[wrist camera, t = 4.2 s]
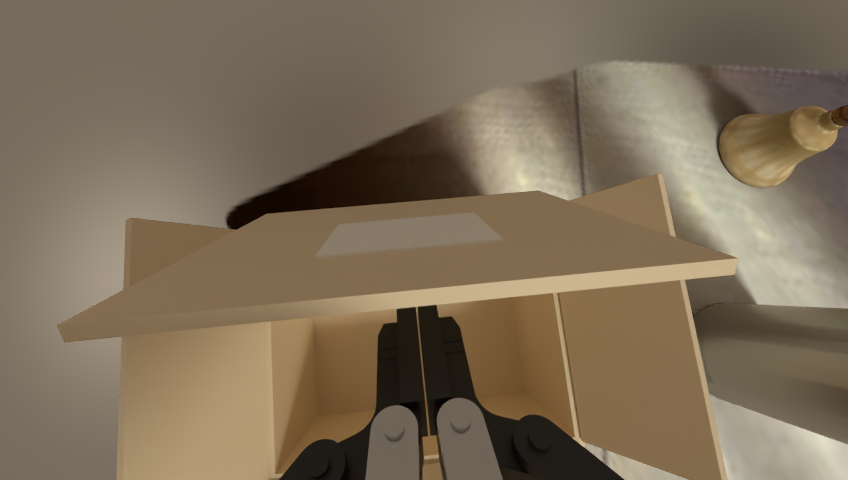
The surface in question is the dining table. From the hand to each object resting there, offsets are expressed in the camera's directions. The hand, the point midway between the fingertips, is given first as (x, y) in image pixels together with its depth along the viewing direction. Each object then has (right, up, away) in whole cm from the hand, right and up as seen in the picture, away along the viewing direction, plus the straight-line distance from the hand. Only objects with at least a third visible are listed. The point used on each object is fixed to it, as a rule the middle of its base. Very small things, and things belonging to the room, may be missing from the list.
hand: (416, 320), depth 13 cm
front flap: (0, +3, +3) cm, 5 cm away
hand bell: (+36, +13, +23) cm, 45 cm away
